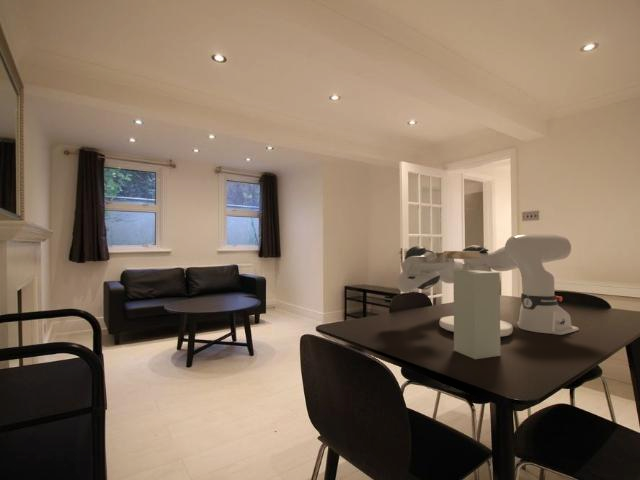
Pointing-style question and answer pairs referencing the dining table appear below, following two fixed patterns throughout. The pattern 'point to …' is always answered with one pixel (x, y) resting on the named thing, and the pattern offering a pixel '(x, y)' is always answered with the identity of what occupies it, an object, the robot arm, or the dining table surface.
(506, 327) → the plate
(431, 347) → the dining table surface
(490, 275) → the shelf block
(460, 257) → the wooden paddle
